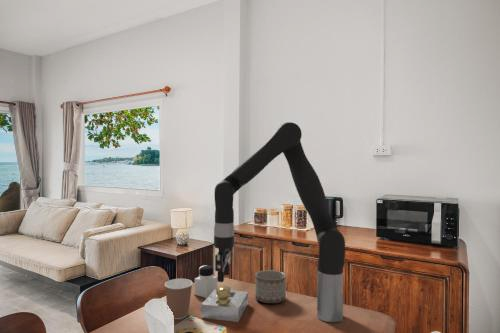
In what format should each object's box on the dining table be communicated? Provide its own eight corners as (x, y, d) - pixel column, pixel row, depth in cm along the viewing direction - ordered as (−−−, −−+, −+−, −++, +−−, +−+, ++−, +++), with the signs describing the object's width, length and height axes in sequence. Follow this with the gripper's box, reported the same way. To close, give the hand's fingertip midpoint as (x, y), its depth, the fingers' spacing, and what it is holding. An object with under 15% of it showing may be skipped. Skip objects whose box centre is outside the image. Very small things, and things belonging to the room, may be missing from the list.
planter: (274, 308, 136) (275, 282, 136) (249, 300, 143) (249, 275, 143) (291, 298, 146) (291, 274, 146) (266, 291, 153) (266, 268, 153)
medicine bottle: (217, 293, 151) (217, 265, 150) (207, 298, 145) (207, 270, 144) (204, 289, 154) (205, 263, 154) (194, 294, 148) (194, 267, 148)
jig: (247, 304, 139) (248, 291, 139) (238, 322, 124) (238, 308, 124) (214, 300, 142) (214, 288, 142) (201, 317, 127) (201, 304, 127)
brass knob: (231, 312, 132) (232, 286, 131) (227, 318, 126) (228, 291, 126) (218, 311, 133) (218, 285, 133) (213, 317, 127) (214, 290, 127)
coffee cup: (176, 307, 136) (176, 276, 135) (197, 312, 131) (198, 281, 131) (158, 317, 126) (158, 285, 126) (181, 324, 122) (181, 290, 122)
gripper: (228, 239, 121) (228, 285, 122) (238, 231, 135) (238, 273, 136) (208, 237, 123) (207, 284, 123) (220, 230, 137) (219, 271, 137)
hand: (223, 278), depth 129 cm, fingers open, 7 cm apart
